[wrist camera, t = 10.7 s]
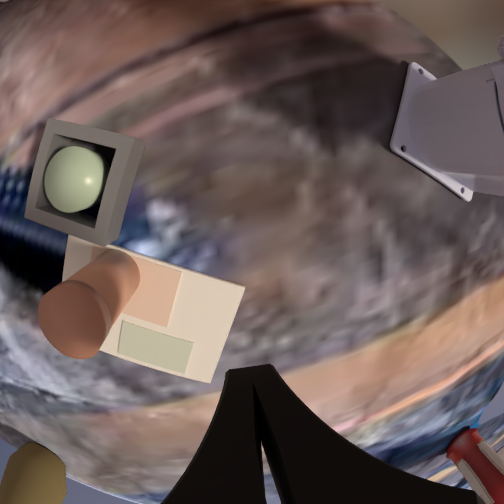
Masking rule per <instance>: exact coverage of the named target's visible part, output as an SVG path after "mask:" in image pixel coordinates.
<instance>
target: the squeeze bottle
mask: <svg viewBox="0 0 504 504" xmlns="http://www.w3.org/2000/svg"><path fill="white" fill-rule="evenodd" d="M66 494H67V488H66V469H65V465H64V463H63V462H62V461H61V460H60V459H59V458H58V457H57V456H56V455H54V454H53V453H52V452H50V451H49V450H47V449H46V448H44V447H42V446H40V445H38V444H35V443H27V444H25V445H24V446H23V447H21V448H20V449H19V450H17V451H16V452H15V453H13V454H12V455H11V456H10V458H9V460H8V463H7V466H6V469H5V472H4V475H3V478H2V481H1V484H0V504H62V502H63V500H64V498H65V496H66Z"/></svg>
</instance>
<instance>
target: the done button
mask: <svg viewBox="0 0 504 504" xmlns="http://www.w3.org/2000/svg"><path fill="white" fill-rule="evenodd" d="M109 171H110V168H109V165H108V162H107V160H106V159H105V158H104V156H103V155H102V154H100V153H99V152H97V151H95V150H91V149H87V148H82V147H76V146H71V147H66V148H64V149H62V150H60V151H59V152H58V153H56V154H55V155H54V157H53V158H52V159H51V161H50V162H49V164H48V167H47V169H46V173H45V180H44V185H45V191H46V195H47V197H48V199H49V201H50V202H51V204H52V205H53V206H54V207H55V208H56V209H58V210H60V211H62V212H67V213H71V212H76V211H80V210H84V209H87V208H91V207H93V206H95V205H97V204H98V203H99V202H100V201H101V200H102V196H103V193H104V189H105V185H106V182H107V178H108V175H109Z"/></svg>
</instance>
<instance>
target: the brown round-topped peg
mask: <svg viewBox="0 0 504 504" xmlns="http://www.w3.org/2000/svg"><path fill="white" fill-rule="evenodd" d="M139 282H140V272H139V268H138V266H137V264H136V262H135V261H134V259H133V258H132V257H131V256H130V255H128V254H127V253H125V252H123V251H120V250H108V251H106V252H104V253H102V254H101V255H100V256H98V257H97V258H95V259H94V260H92V261H91V262H90V263H88V264H87V265H85V266H84V267H83V268H81V269H80V270H79V271H77V272H76V273H75V274H73V275H72V276H71V277H69V278H68V279H67V280H65V281H63V282H61V283H59V284H58V285H57V286H55V287H54V288H53V289H52V290H50V291H49V292H48V293H46V294H45V295H44V296H43V298H42V299H41V301H40V304H39V308H38V319H39V323H40V326H41V329H42V331H43V333H44V335H45V337H46V338H47V340H48V341H49V342H50V343H51V344H52V345H53V346H54V347H55V348H56V349H57V350H58V351H60V352H61V353H63V354H64V355H66V356H69V357H71V358H75V359H86V358H90V357H92V356H94V355H95V354H96V353H97V352H98V351H99V349H100V347H101V346H102V344H103V342H104V341H105V339H106V338H107V336H108V334H109V332H110V329H111V328H112V326H113V324H114V323H115V321H116V320H117V318H118V317H119V315H120V314H121V312H122V311H123V309H124V307H125V306H126V304H127V303H128V301H129V300H130V298H131V297H132V295H133V294H134V293H135V291H136V289H137V288H138V286H139Z"/></svg>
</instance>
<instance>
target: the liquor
mask: <svg viewBox="0 0 504 504" xmlns="http://www.w3.org/2000/svg"><path fill="white" fill-rule="evenodd" d="M446 458H450V459H452V461H453V462H454V464H455V465H456V466H457V468H458V469H459V471H460V472H461V473H462V475H463V476H464V478H465V479H466V481H467V482H468V484H469V485H470V487H471V488H472V490H474V491H475V492H476V493H477V494H478V495H479V496H480V497H481V498H482V499H483V500H484V502H485V503H486V504H504V460H503V459H502V458H501V457H500V456H499V455H498V454H497V453H496V452H495V451H494V450H493V449H492V448H491V447H490V446H489V445H488V444H487V443H486V442H485V441H484V439H483V438H482V437H481V436H480V435H479V434H478V429H477V428H473V429H466V430H464V431H462V432H461V433H460V434H458V435H457V436H456V437H455V438H454V439H453V440H452V442H451V443H450V444H449V446H448V451H447V455H446Z"/></svg>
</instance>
